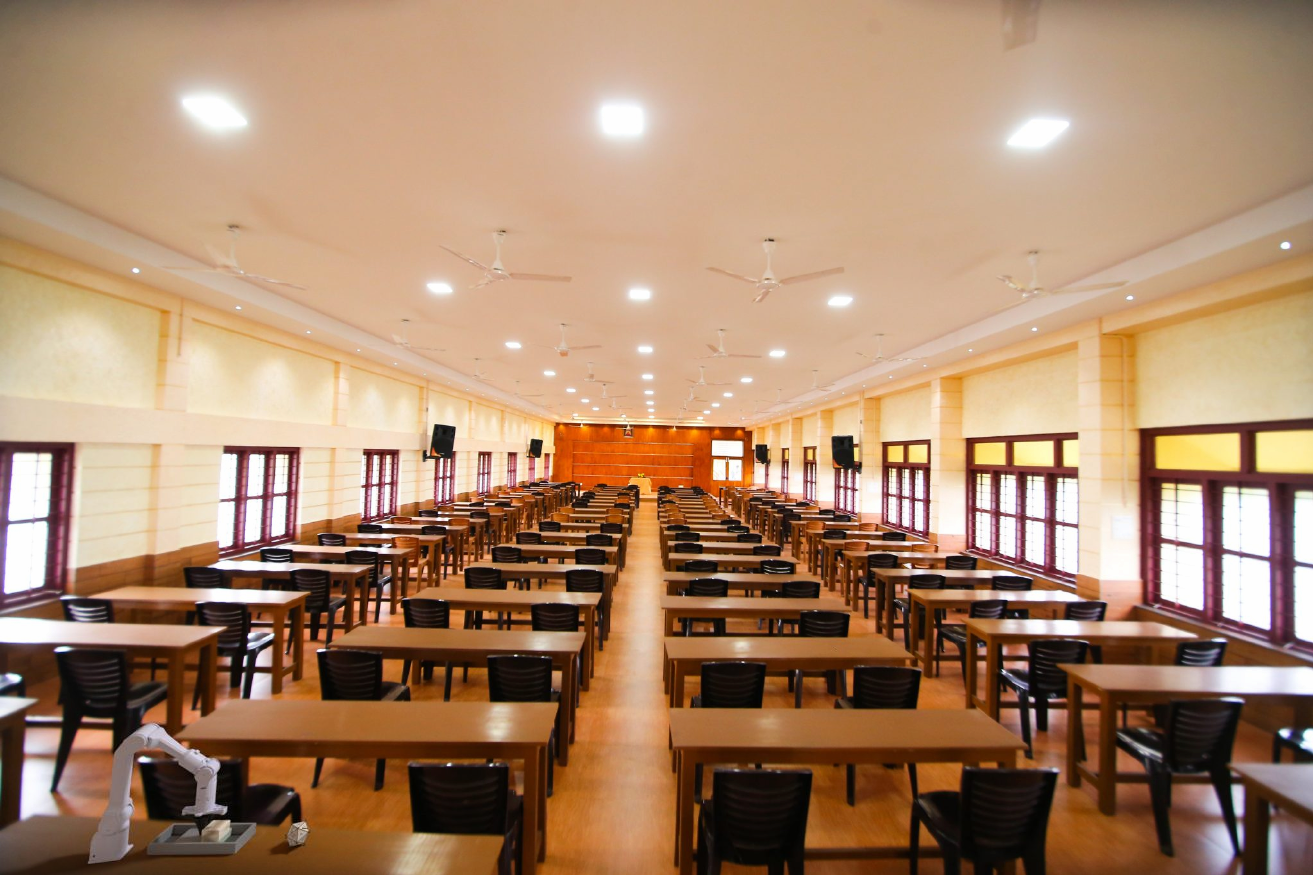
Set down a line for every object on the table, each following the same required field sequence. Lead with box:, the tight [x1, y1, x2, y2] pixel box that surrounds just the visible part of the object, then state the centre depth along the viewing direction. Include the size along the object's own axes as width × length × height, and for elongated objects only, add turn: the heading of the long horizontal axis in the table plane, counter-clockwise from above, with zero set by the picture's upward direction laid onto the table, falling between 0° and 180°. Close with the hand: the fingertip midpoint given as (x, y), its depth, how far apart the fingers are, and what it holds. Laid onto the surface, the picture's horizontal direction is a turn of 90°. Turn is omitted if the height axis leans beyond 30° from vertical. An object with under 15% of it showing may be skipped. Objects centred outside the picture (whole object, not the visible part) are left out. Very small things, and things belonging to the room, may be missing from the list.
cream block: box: [201, 819, 231, 842], centre depth 213 cm, size 6×6×4 cm
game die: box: [284, 818, 312, 850], centre depth 214 cm, size 9×8×10 cm
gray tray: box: [146, 822, 257, 856], centre depth 212 cm, size 30×12×4 cm, turn 94°
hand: (203, 833), depth 212 cm, fingers closed
